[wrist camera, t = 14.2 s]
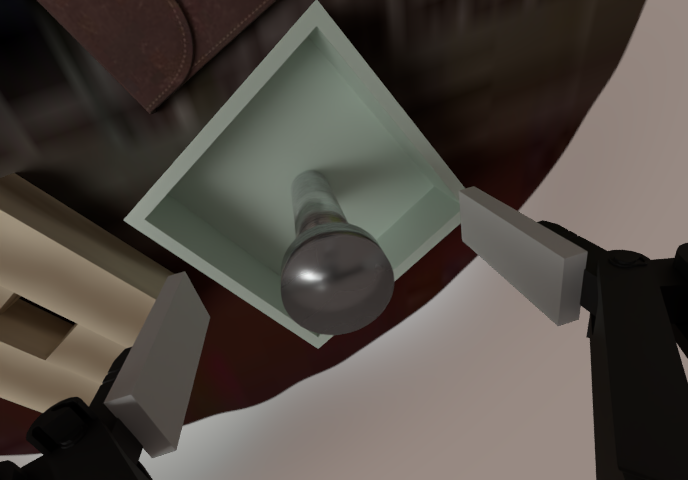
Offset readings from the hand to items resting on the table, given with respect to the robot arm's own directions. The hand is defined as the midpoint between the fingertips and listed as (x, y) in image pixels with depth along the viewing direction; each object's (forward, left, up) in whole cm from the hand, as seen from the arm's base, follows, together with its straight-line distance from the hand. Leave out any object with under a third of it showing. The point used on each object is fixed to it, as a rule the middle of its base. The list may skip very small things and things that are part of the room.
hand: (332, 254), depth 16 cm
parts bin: (0, 0, -12) cm, 12 cm away
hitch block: (+20, -8, -12) cm, 25 cm away
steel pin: (0, 0, -11) cm, 11 cm away
